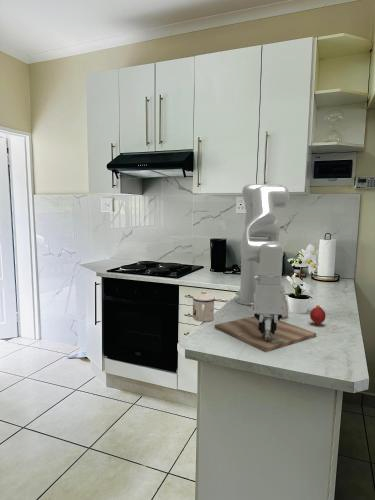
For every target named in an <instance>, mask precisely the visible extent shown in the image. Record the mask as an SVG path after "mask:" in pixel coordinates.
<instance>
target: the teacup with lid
mask: <svg viewBox="0 0 375 500" xmlns="http://www.w3.org/2000/svg"><path fill="white" fill-rule="evenodd" d="M215 300H216V298H215V297H214V296H213V295H211V294H210V293H208V292H207V291H206V290H202V291H201V292H200V293H197V294H195V295H193V296H192V319H193V320H194V321H197V322H199V323H200V322H203V323H204V321H205V323H206V322H208V323H209V322H212V321H213V320H214V319H215V317H214V316H215Z"/></svg>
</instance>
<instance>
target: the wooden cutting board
mask: <svg viewBox="0 0 375 500" xmlns="http://www.w3.org/2000/svg"><path fill="white" fill-rule="evenodd" d="M265 315H266V314H264V315H263V316H265ZM272 319H273V317H272ZM258 326H259V321H258V320H257V319H256V317H255V316H253V315H252V316H249V317H244V318H239V319H235V320H232V321H226V322H221V323H217V324H214V329H216V330H218V331H221V332H223V333H225V334H227V335H229V336H231V337H233V338H234V339H237V340H239V341H242V342H244V343H245V344H248V345H250V346H252V347H254V348H257V349H259V350H261V351H262V352H265V353H267V352H271V351H274V350H278V349H280V348H284V347H287V346H290V345H293V344H297V343H299V342H303V341H306V340H307V341H308V340H310V339H313V338H316V337H317V333H316V332H313V331H311V330H308V329H305V328H303V327H299V326H297V325H294V324H292V323H288V322H285V321H284V320H283V321H282V320H281V319H280V320H279V321H278V322H277V325H276V331H275V333H274V334H271V338H270V341H267V340H265V338H264V337H263V336H262V334H261V332H260V330H259V329H258Z"/></svg>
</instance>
